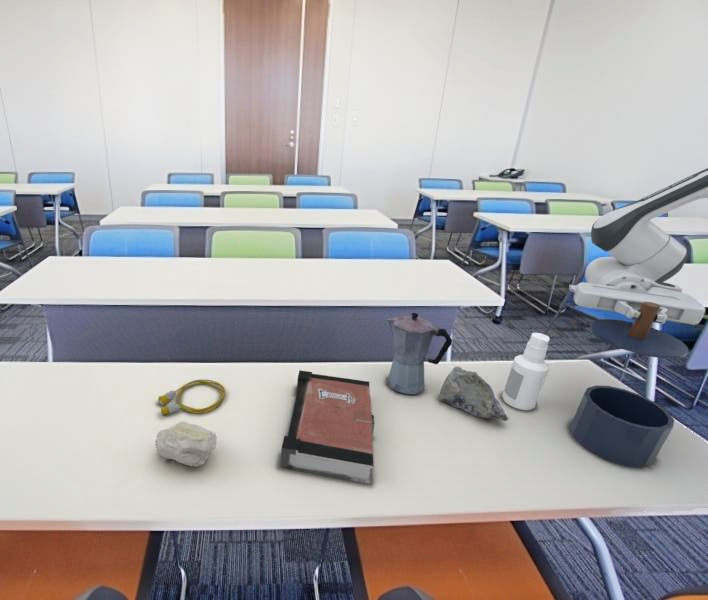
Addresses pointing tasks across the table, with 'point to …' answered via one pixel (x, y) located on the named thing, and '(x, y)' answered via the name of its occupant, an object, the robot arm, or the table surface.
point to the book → (330, 428)
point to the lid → (640, 335)
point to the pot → (621, 426)
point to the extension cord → (177, 406)
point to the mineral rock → (471, 394)
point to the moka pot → (412, 352)
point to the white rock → (186, 443)
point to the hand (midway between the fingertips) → (648, 317)
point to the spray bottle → (527, 374)
